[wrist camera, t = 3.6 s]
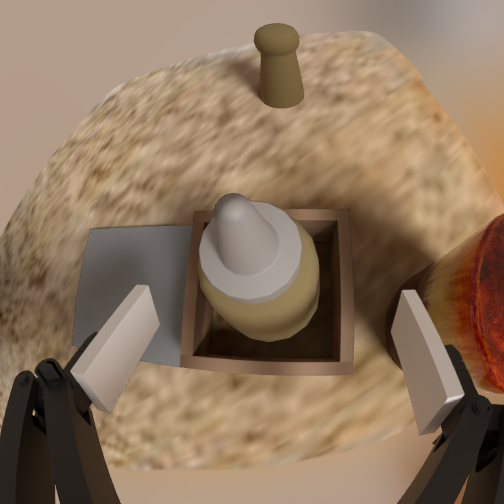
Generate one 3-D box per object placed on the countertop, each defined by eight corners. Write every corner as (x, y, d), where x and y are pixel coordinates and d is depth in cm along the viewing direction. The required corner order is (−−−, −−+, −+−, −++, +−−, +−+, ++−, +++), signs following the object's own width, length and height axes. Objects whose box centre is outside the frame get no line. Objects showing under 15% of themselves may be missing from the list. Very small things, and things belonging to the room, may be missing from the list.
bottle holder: (199, 363, 25) (179, 366, 20) (210, 232, 29) (194, 211, 24) (341, 368, 23) (352, 374, 18) (339, 232, 27) (348, 209, 22)
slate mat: (77, 345, 27) (72, 345, 26) (94, 232, 31) (89, 229, 30) (184, 366, 25) (180, 367, 24) (196, 228, 29) (193, 224, 28)
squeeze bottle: (228, 342, 25) (111, 333, 8) (229, 258, 28) (142, 135, 11) (317, 340, 24) (372, 333, 7) (313, 254, 27) (337, 113, 10)
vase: (373, 286, 25) (511, 156, 6) (458, 261, 24) (591, 156, 5) (394, 394, 21) (559, 455, 2) (479, 357, 20) (635, 337, 1)
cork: (291, 77, 35) (286, 15, 25) (312, 100, 33) (312, 32, 23) (253, 89, 35) (240, 25, 25) (271, 113, 33) (261, 43, 23)
